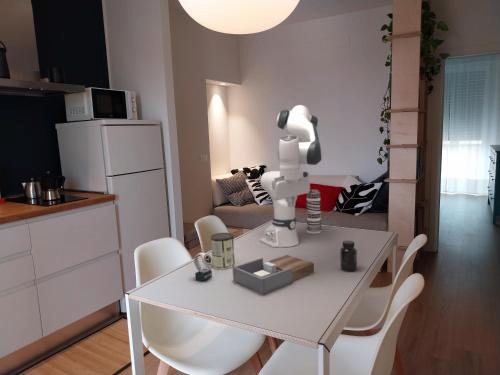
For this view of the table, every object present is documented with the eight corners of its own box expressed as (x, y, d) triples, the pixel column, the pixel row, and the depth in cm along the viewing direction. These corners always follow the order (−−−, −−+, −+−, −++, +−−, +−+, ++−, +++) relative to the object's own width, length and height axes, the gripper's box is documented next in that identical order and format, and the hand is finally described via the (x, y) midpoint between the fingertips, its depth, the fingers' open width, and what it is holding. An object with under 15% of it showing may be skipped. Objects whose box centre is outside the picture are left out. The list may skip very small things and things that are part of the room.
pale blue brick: (268, 273, 153) (263, 274, 152) (267, 261, 153) (263, 263, 151) (276, 276, 149) (271, 278, 148) (276, 264, 149) (271, 266, 147)
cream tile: (262, 269, 150) (262, 275, 151) (252, 273, 147) (253, 279, 148) (270, 273, 146) (270, 279, 147) (260, 276, 143) (261, 282, 144)
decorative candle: (306, 233, 214) (305, 191, 210) (306, 229, 223) (305, 189, 219) (322, 233, 212) (321, 191, 209) (321, 229, 221) (321, 188, 218)
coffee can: (219, 260, 174) (217, 231, 172) (238, 262, 170) (237, 233, 168) (208, 268, 165) (206, 237, 163) (228, 270, 161) (226, 239, 159)
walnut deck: (264, 271, 158) (263, 262, 158) (287, 263, 167) (286, 254, 166) (290, 281, 146) (290, 272, 145) (314, 272, 155) (313, 263, 154)
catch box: (233, 281, 149) (232, 267, 148) (262, 270, 159) (262, 257, 158) (262, 295, 135) (261, 279, 134) (292, 282, 145) (292, 268, 144)
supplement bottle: (351, 265, 161) (351, 239, 159) (360, 270, 154) (360, 243, 152) (337, 267, 159) (337, 240, 157) (345, 273, 153) (345, 245, 151)
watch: (207, 282, 149) (206, 256, 147) (192, 279, 153) (190, 254, 151) (215, 277, 153) (214, 252, 152) (200, 274, 157) (198, 250, 156)
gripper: (277, 178, 146) (278, 212, 148) (311, 172, 159) (312, 203, 161) (266, 177, 151) (268, 210, 153) (301, 171, 163) (302, 201, 166)
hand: (291, 206), depth 157 cm, fingers closed
